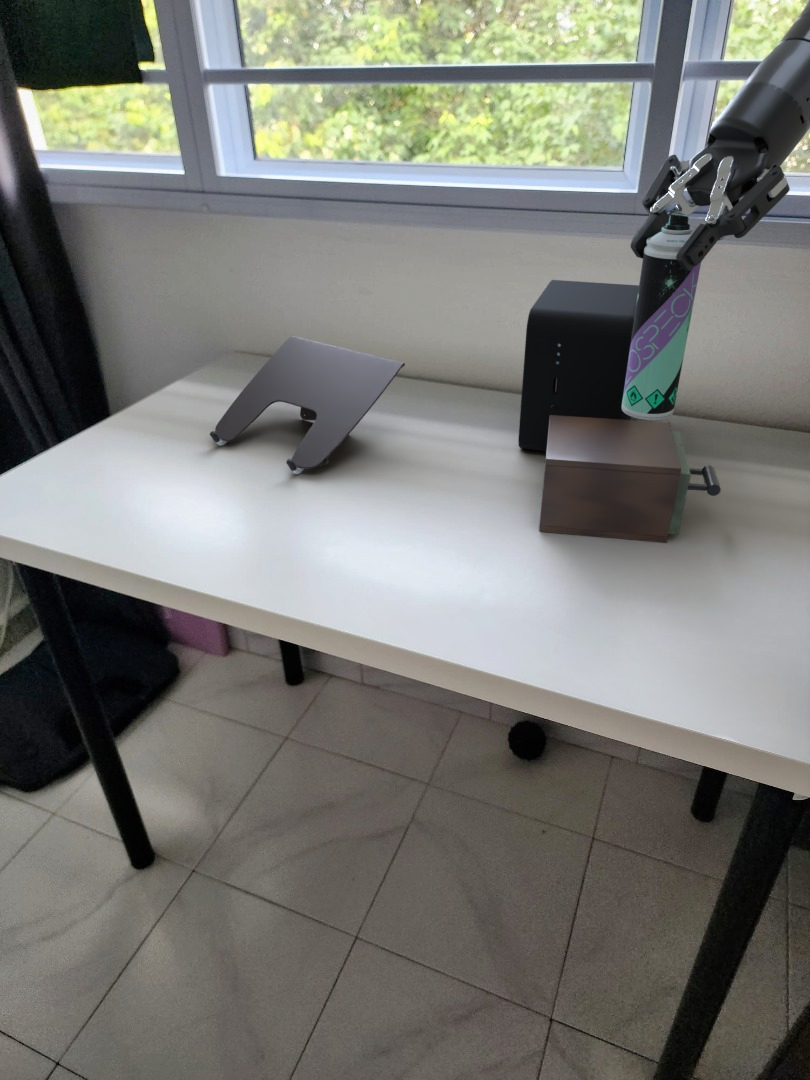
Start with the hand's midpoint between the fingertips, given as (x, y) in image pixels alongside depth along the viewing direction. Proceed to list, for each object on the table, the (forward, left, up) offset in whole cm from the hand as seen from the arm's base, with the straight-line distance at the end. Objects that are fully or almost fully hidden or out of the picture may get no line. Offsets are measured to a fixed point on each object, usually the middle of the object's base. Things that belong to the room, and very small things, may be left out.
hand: (659, 258), depth 73 cm
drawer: (0, -5, -30) cm, 30 cm away
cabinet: (+4, -3, -31) cm, 31 cm away
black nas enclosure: (+18, -21, -31) cm, 42 cm away
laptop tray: (+49, +6, -31) cm, 58 cm away
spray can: (-1, -2, -16) cm, 16 cm away
